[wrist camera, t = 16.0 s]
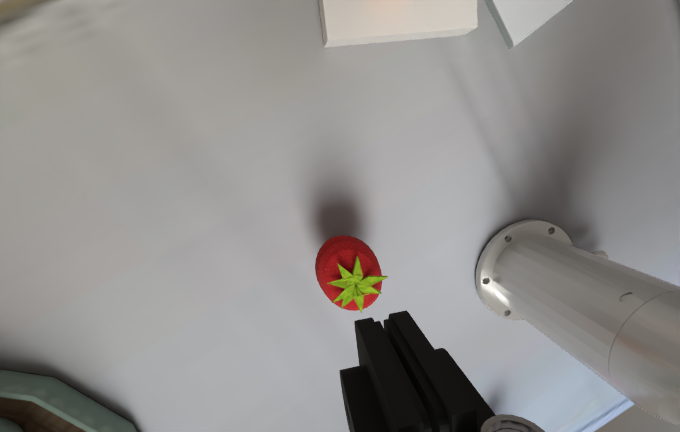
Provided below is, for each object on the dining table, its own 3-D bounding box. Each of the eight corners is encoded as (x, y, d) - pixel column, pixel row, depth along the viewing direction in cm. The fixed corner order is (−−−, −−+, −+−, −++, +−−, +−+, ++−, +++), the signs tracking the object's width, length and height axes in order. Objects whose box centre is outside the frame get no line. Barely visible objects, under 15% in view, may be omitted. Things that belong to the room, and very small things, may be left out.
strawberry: (349, 211, 35) (373, 239, 26) (377, 268, 37) (409, 314, 28) (299, 236, 35) (305, 274, 25) (330, 293, 37) (346, 348, 28)
